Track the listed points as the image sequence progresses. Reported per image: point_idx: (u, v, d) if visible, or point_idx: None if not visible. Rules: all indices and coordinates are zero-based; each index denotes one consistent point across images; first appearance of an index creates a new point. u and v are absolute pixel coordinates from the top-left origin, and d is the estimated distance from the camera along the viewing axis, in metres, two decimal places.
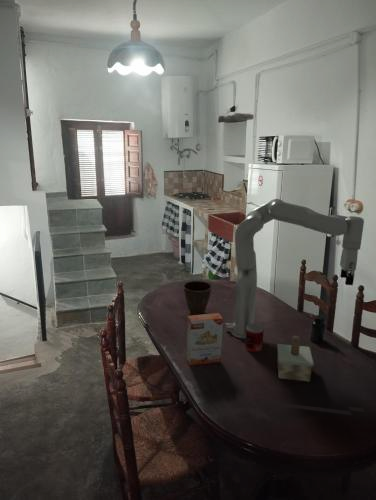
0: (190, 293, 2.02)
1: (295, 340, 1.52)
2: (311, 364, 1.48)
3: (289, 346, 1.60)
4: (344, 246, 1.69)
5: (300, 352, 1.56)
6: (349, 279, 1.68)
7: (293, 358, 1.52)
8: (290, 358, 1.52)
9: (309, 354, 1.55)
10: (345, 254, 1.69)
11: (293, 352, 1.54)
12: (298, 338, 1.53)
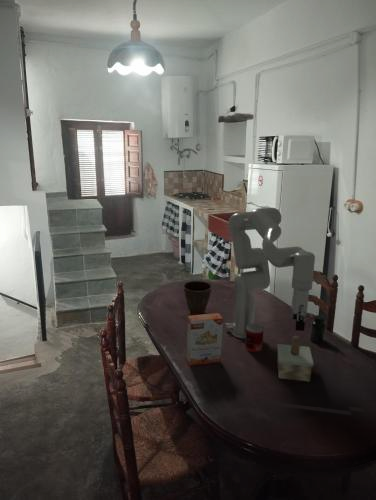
0: (190, 293, 2.02)
1: (295, 340, 1.52)
2: (311, 364, 1.48)
3: (289, 346, 1.60)
4: (293, 286, 1.46)
5: (300, 352, 1.56)
6: (299, 324, 1.45)
7: (293, 358, 1.52)
8: (290, 358, 1.52)
9: (309, 354, 1.55)
10: (294, 295, 1.46)
11: (293, 352, 1.54)
12: (298, 338, 1.53)
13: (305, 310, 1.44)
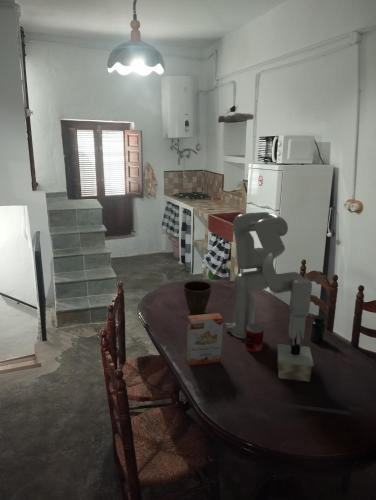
0: (190, 293, 2.02)
1: (295, 340, 1.52)
2: (311, 364, 1.48)
3: (289, 346, 1.60)
4: (290, 312, 1.49)
5: (300, 352, 1.56)
6: (295, 348, 1.52)
7: (293, 358, 1.52)
8: (290, 358, 1.52)
9: (309, 354, 1.55)
10: (292, 321, 1.49)
11: None
12: None
13: (301, 338, 1.49)
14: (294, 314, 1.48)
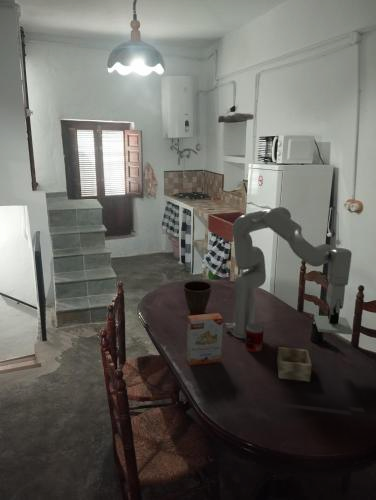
0: (190, 293, 2.02)
1: (334, 309, 1.55)
2: (350, 332, 1.52)
3: (326, 317, 1.64)
4: (330, 281, 1.52)
5: (338, 322, 1.59)
6: (334, 318, 1.55)
7: (332, 327, 1.55)
8: (329, 327, 1.55)
9: (347, 324, 1.58)
10: (331, 290, 1.52)
11: None
12: None
13: (340, 307, 1.52)
14: (334, 283, 1.51)
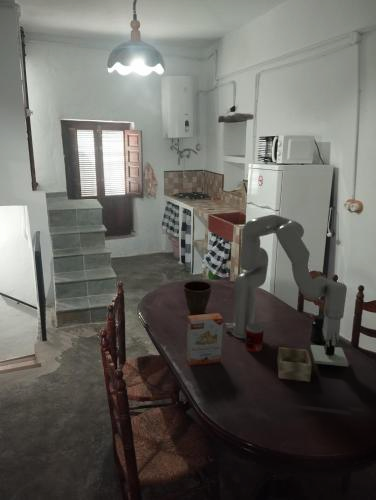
0: (190, 293, 2.02)
1: (330, 341, 1.59)
2: (346, 364, 1.55)
3: (322, 347, 1.68)
4: (326, 314, 1.56)
5: (334, 353, 1.63)
6: (330, 349, 1.59)
7: (328, 358, 1.59)
8: (325, 358, 1.59)
9: (343, 354, 1.62)
10: (327, 323, 1.56)
11: None
12: None
13: (336, 340, 1.56)
14: (329, 316, 1.55)
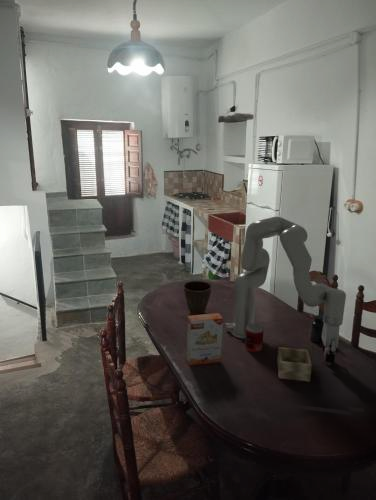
0: (190, 293, 2.02)
1: None
2: None
3: None
4: (325, 321, 1.57)
5: None
6: (330, 357, 1.57)
7: None
8: None
9: None
10: (326, 329, 1.57)
11: (325, 363, 1.62)
12: None
13: (336, 345, 1.56)
14: (329, 323, 1.56)
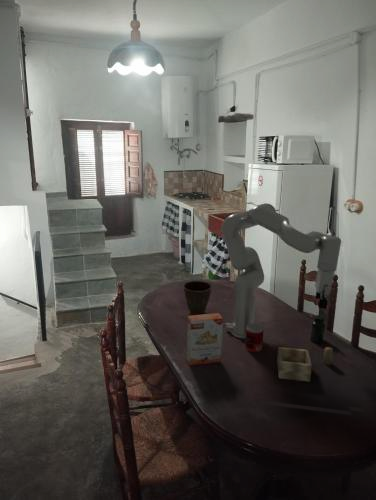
0: (190, 293, 2.02)
1: (328, 351, 1.61)
2: None
3: None
4: (319, 267, 1.58)
5: None
6: (322, 302, 1.58)
7: None
8: None
9: None
10: (319, 275, 1.58)
11: (325, 363, 1.62)
12: (331, 349, 1.61)
13: (329, 290, 1.57)
14: (322, 269, 1.57)
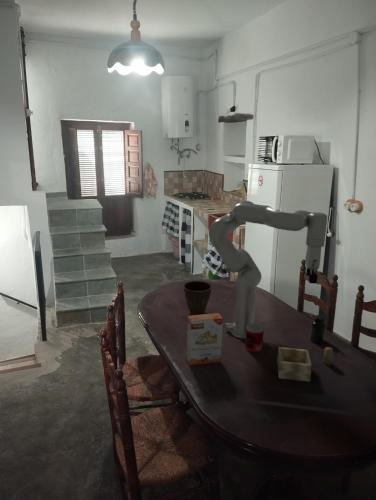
0: (190, 293, 2.02)
1: (328, 351, 1.61)
2: None
3: None
4: (307, 243, 1.64)
5: None
6: (312, 277, 1.63)
7: None
8: None
9: None
10: (308, 251, 1.64)
11: (325, 363, 1.62)
12: (331, 349, 1.61)
13: (318, 264, 1.62)
14: (311, 245, 1.62)
